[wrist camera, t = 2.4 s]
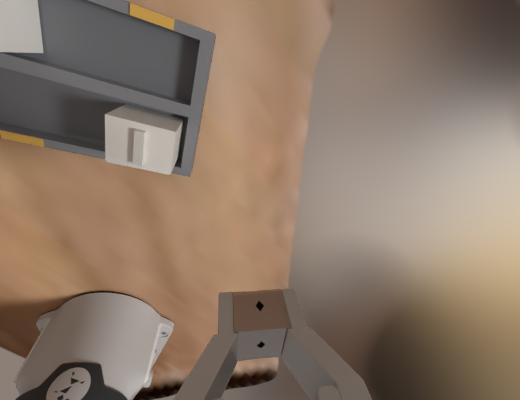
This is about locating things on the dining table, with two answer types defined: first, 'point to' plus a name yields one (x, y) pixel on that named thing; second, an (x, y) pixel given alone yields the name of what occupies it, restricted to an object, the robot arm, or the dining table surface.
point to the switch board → (104, 76)
